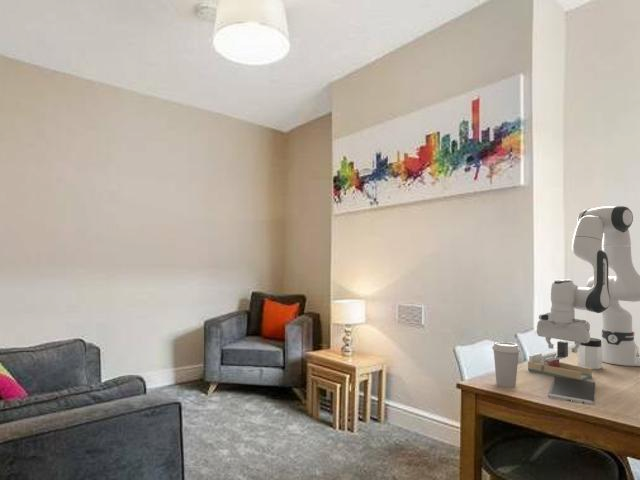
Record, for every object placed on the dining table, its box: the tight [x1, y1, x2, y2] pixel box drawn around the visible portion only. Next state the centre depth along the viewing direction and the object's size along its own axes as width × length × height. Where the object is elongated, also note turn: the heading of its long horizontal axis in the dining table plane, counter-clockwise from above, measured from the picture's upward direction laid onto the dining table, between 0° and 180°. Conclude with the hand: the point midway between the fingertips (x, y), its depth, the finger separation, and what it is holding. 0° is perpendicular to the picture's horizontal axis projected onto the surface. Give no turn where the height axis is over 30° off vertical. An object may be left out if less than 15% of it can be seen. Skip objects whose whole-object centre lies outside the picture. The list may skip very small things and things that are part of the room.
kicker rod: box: [546, 340, 569, 368], centre depth 181 cm, size 15×3×10 cm, turn 128°
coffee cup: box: [491, 341, 521, 388], centre depth 161 cm, size 10×10×15 cm
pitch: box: [527, 352, 593, 381], centre depth 178 cm, size 11×20×7 cm, turn 38°
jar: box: [577, 337, 604, 370], centre depth 190 cm, size 9×8×12 cm
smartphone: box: [547, 376, 596, 406], centre depth 156 cm, size 13×27×2 cm, turn 147°
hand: (562, 350), depth 184 cm, fingers open, 8 cm apart
